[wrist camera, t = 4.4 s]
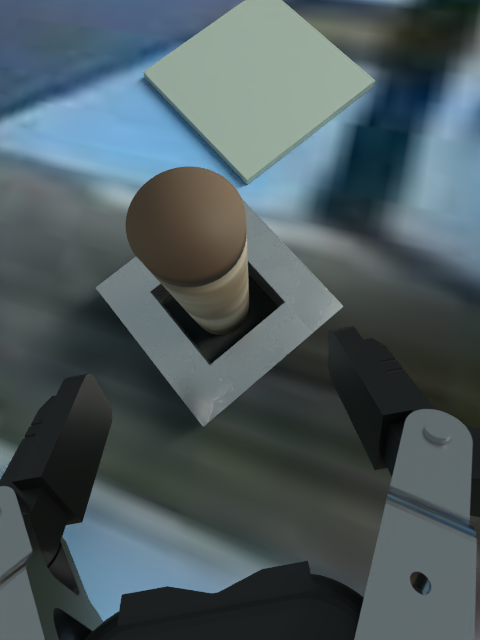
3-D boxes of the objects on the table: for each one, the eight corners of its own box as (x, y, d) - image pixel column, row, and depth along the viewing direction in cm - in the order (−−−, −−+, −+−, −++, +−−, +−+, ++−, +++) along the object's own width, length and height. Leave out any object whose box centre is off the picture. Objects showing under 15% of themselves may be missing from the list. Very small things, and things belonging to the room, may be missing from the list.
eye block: (231, 205, 24) (228, 184, 21) (333, 315, 22) (343, 306, 19) (112, 298, 23) (95, 287, 20) (209, 421, 21) (203, 426, 18)
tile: (265, -6, 28) (265, -15, 27) (372, 87, 25) (375, 80, 25) (145, 78, 26) (143, 71, 26) (247, 184, 24) (247, 179, 23)
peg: (224, 268, 23) (195, 145, 11) (261, 309, 22) (271, 225, 10) (181, 303, 22) (102, 215, 11) (216, 346, 22) (174, 303, 10)
